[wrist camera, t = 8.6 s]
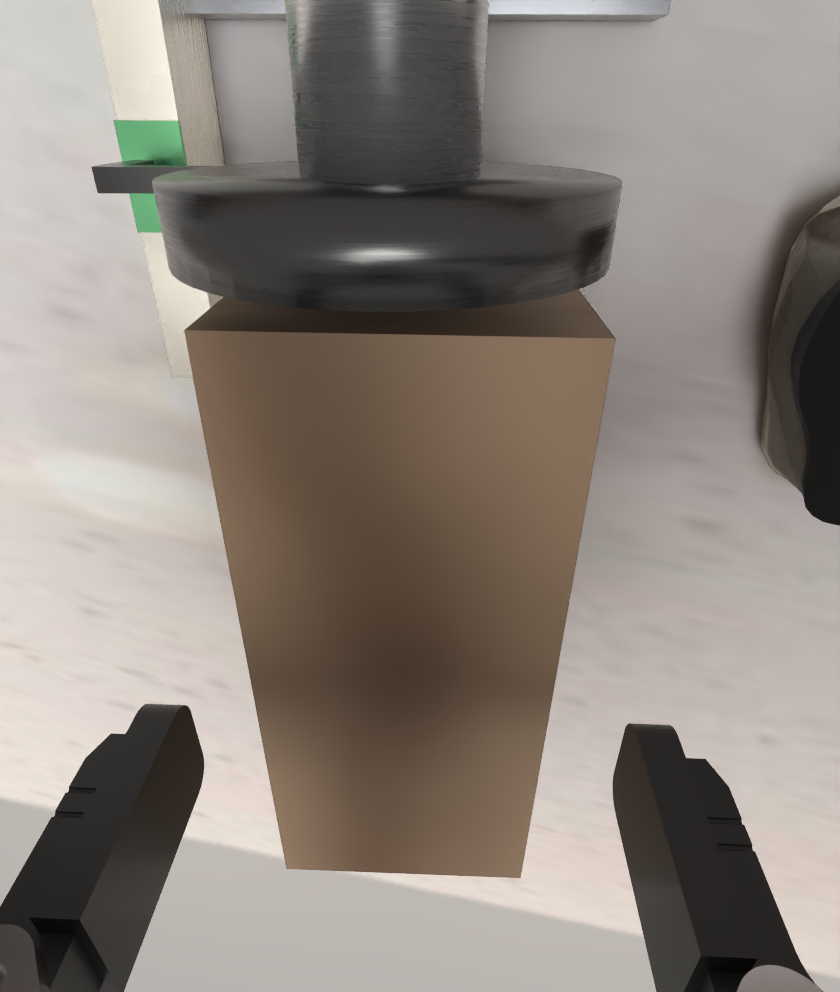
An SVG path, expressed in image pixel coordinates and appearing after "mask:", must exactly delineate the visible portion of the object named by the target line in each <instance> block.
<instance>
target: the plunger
mask: <svg viewBox="0 0 840 992" xmlns="http://www.w3.org/2000/svg"><path fill="white" fill-rule="evenodd" d="M285 9H286V20H287V32H288V44H289V55H290V67H291V79H292V91H293V102H294V114H295V126H296V138H297V149H298V161H288V162H267V163H250V164H237V165H224V166H170V165H155V164H154V160H130V161H123V162H117V163H111V164H105V165H99V166H93V167H92V171H93V175H94V179H95V183H96V187H97V191H98V193H146V194H154V195H155V200H156V205H157V211H158V216H159V221H160V226H161V231H162V236H163V241H164V246H165V251H166V256H167V261H168V266H169V270H170V272H171V274H172V275H173V276H174V277H175V278H176V279H178V280H179V281H180V282H182V283H184V284H186V285H188V286H190V287H192V288H195V289H198V290H201V291H204V292H207V293H210V294H214V295H218V296H223V297H227V298H231V299H235V300H241V301H247V302H253V303H259V304H266V305H275V306H284V307H292V308H304V309H318V310H332V311H361V312H414V311H439V310H456V309H469V308H482V307H490V306H499V305H507V304H515V303H521V302H527V301H532V300H538V299H544V298H548V297H552V296H556V295H561V294H565V293H568V292H571V291H574V290H577V289H580V288H583V287H586V286H588V285H590V284H592V283H594V282H596V281H598V280H599V279H600V278H602V277H603V276H604V275H606V273H607V271H608V269H609V265H610V259H611V253H612V246H613V240H614V234H615V227H616V221H617V215H618V208H619V202H620V196H621V189H622V181H621V180H620V179H619V178H617V177H614V176H611V175H608V174H603V173H598V172H593V171H586V170H580V169H572V168H563V167H553V166H542V165H530V164H515V163H498V162H481V150H482V130H483V110H484V90H485V70H486V50H487V30H488V10H489V0H285Z"/></svg>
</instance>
